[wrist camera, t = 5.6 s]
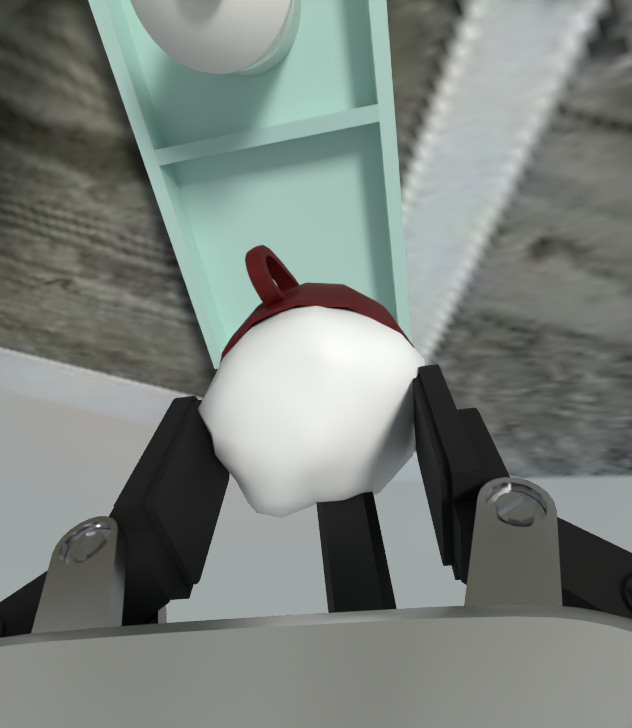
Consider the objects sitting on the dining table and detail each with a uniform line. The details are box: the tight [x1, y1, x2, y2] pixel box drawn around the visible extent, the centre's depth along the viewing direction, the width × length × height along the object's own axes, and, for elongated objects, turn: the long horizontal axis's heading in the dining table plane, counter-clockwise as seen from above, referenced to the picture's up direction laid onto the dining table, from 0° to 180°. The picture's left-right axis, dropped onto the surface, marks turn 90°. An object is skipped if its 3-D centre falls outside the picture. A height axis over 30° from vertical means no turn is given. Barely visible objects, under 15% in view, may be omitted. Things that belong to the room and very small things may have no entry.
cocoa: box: [198, 245, 425, 613], centre depth 11 cm, size 10×6×12 cm, turn 1°
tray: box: [88, 0, 412, 369], centre depth 25 cm, size 14×26×3 cm, turn 10°
